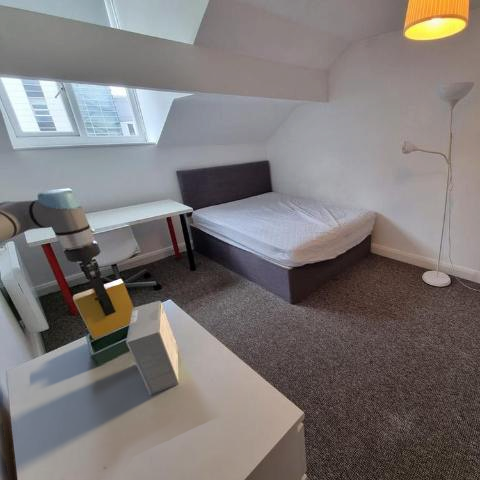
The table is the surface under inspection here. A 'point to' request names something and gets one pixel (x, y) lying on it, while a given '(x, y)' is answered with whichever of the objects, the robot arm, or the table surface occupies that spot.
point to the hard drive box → (153, 347)
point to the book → (94, 313)
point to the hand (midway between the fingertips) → (109, 310)
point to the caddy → (108, 345)
